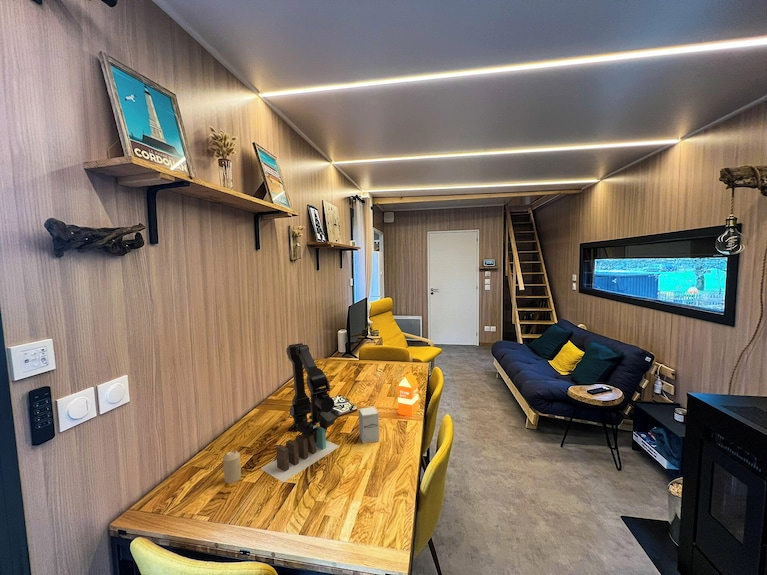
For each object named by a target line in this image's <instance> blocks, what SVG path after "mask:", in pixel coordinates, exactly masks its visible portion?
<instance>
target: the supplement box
mask: <svg viewBox="0 0 767 575" xmlns="http://www.w3.org/2000/svg"><path fill="white" fill-rule="evenodd" d="M358 424H359V425H358V427H359V428H358V430H359V432H358V433H359V437H360V439H361V442H362V444H367V443H368V444H369V443H374V442H375V443H376V442H379V441H380V430H379V429H380V428H379V426H380V425H379V412H378V410H377V408H376V407H375V406H371V407H363V408H358Z"/></svg>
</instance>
